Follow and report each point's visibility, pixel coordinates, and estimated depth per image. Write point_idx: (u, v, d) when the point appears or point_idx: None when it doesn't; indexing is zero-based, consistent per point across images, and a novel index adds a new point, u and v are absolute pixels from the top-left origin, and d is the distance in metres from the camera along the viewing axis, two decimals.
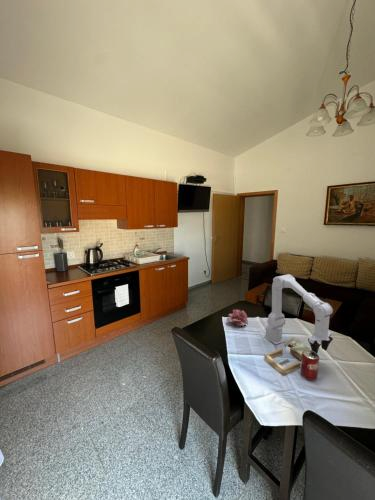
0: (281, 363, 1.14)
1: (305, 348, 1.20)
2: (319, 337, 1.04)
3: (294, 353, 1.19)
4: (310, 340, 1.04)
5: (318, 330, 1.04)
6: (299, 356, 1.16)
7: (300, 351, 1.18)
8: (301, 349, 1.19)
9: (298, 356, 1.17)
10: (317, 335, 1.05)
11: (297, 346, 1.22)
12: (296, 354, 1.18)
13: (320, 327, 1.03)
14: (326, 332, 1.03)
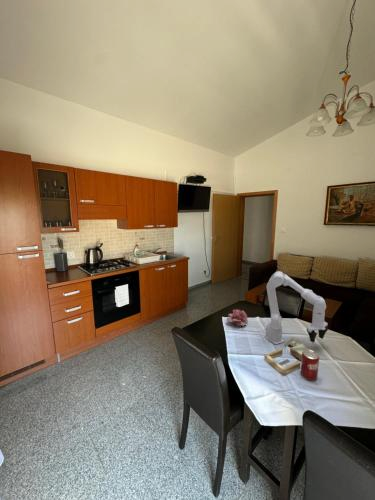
0: (281, 363, 1.14)
1: (305, 348, 1.20)
2: (316, 327, 1.20)
3: (294, 353, 1.19)
4: (308, 329, 1.20)
5: (315, 321, 1.20)
6: (299, 356, 1.16)
7: (300, 351, 1.18)
8: (301, 349, 1.19)
9: (298, 356, 1.17)
10: (314, 325, 1.21)
11: (297, 346, 1.22)
12: (296, 354, 1.18)
13: (321, 319, 1.19)
14: (322, 322, 1.19)
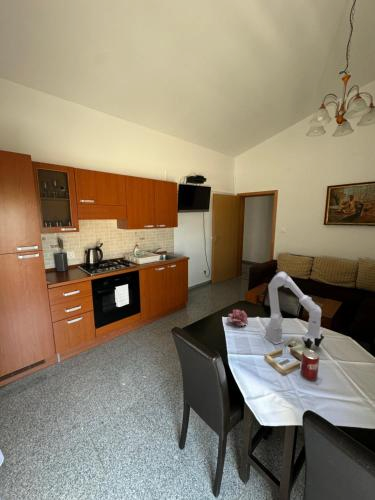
0: (281, 363, 1.14)
1: (305, 348, 1.20)
2: (312, 335, 1.20)
3: (294, 353, 1.19)
4: (304, 338, 1.20)
5: (311, 329, 1.20)
6: (299, 356, 1.16)
7: (300, 351, 1.18)
8: (301, 349, 1.19)
9: (298, 356, 1.17)
10: (310, 334, 1.21)
11: (297, 346, 1.22)
12: (296, 354, 1.18)
13: (316, 327, 1.18)
14: (318, 331, 1.19)
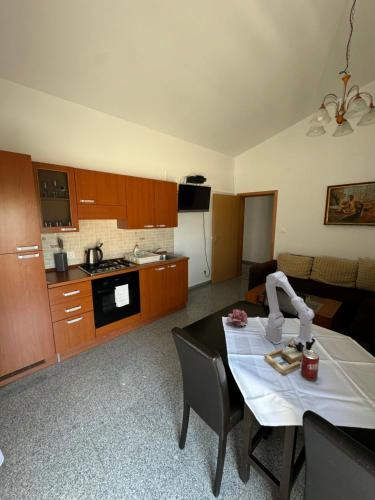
0: (281, 363, 1.14)
1: (296, 352, 1.17)
2: (303, 339, 1.17)
3: (285, 356, 1.16)
4: (295, 342, 1.17)
5: (302, 333, 1.17)
6: (290, 360, 1.13)
7: (291, 355, 1.15)
8: (292, 353, 1.17)
9: (289, 360, 1.14)
10: (301, 337, 1.18)
11: (288, 350, 1.19)
12: (287, 358, 1.15)
13: (305, 330, 1.16)
14: (309, 334, 1.16)
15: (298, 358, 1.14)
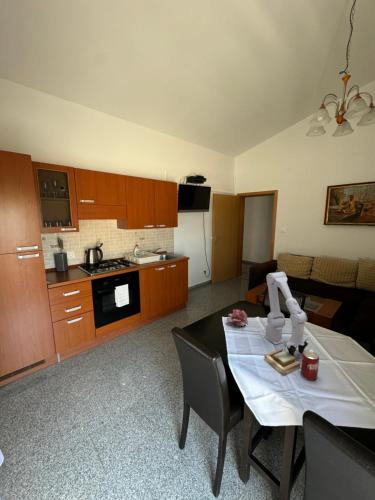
0: None
1: (288, 355, 1.15)
2: (295, 342, 1.15)
3: (277, 360, 1.14)
4: (287, 345, 1.14)
5: (294, 336, 1.15)
6: (281, 364, 1.11)
7: (283, 358, 1.12)
8: (284, 356, 1.14)
9: (280, 364, 1.11)
10: (293, 340, 1.15)
11: (280, 353, 1.17)
12: (279, 362, 1.12)
13: (295, 333, 1.14)
14: (301, 338, 1.14)
15: (290, 362, 1.12)
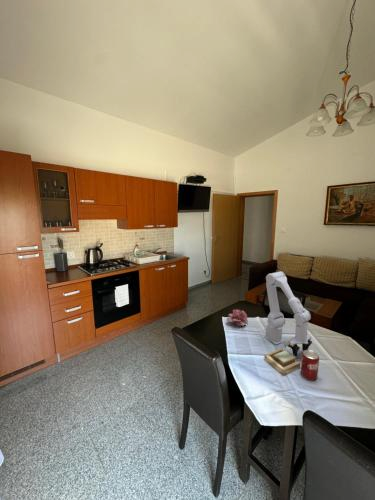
0: None
1: (288, 355, 1.15)
2: (299, 341, 1.16)
3: (277, 360, 1.14)
4: (290, 343, 1.16)
5: (298, 334, 1.16)
6: (281, 364, 1.11)
7: (283, 358, 1.12)
8: (284, 356, 1.14)
9: (280, 364, 1.11)
10: (297, 339, 1.17)
11: (280, 353, 1.17)
12: (279, 362, 1.12)
13: (300, 332, 1.15)
14: (305, 336, 1.15)
15: (290, 362, 1.12)
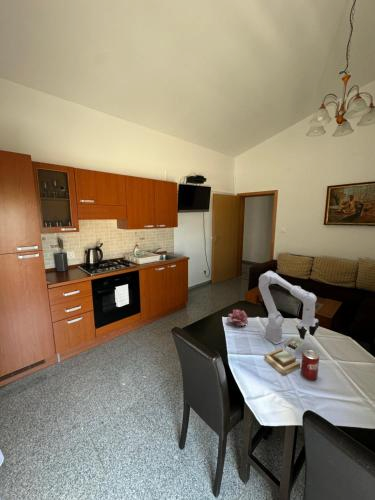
0: None
1: (288, 355, 1.15)
2: (306, 323, 1.18)
3: (277, 360, 1.14)
4: (298, 326, 1.17)
5: (305, 317, 1.18)
6: (281, 364, 1.11)
7: (283, 358, 1.12)
8: (284, 356, 1.14)
9: (280, 364, 1.11)
10: (304, 322, 1.19)
11: (280, 353, 1.17)
12: (279, 362, 1.12)
13: (309, 315, 1.16)
14: (312, 319, 1.17)
15: (290, 362, 1.12)
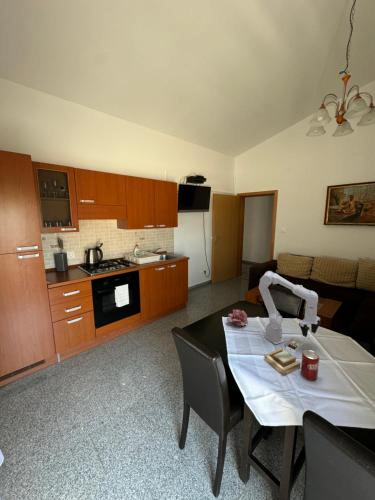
0: None
1: (288, 355, 1.15)
2: (308, 321, 1.20)
3: (277, 360, 1.14)
4: (301, 324, 1.20)
5: (308, 315, 1.20)
6: (281, 364, 1.11)
7: (283, 358, 1.12)
8: (284, 356, 1.14)
9: (280, 364, 1.11)
10: (307, 320, 1.21)
11: (280, 353, 1.17)
12: (279, 362, 1.12)
13: (313, 313, 1.18)
14: (314, 317, 1.19)
15: (290, 362, 1.12)
